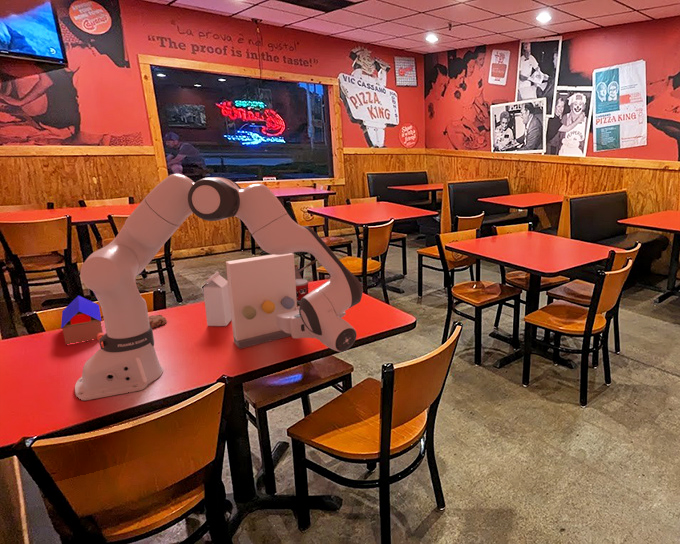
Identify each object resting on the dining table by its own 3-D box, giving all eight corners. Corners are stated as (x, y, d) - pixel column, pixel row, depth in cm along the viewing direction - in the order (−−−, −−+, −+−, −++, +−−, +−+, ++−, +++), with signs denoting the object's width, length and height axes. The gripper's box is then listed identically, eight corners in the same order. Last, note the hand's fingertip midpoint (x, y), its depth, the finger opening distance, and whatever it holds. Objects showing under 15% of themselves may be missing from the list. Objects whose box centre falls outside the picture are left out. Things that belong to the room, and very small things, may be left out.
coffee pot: (287, 300, 188) (285, 266, 184) (276, 293, 197) (274, 260, 193) (330, 290, 198) (329, 258, 194) (317, 284, 208) (316, 253, 204)
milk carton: (232, 319, 168) (227, 271, 163) (226, 326, 161) (220, 277, 156) (214, 319, 169) (209, 271, 164) (207, 326, 162) (201, 276, 157)
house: (64, 347, 148) (58, 314, 145) (65, 327, 165) (59, 298, 162) (104, 338, 154) (98, 307, 151) (101, 320, 171) (96, 292, 168)
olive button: (244, 320, 139) (243, 308, 138) (242, 318, 142) (241, 306, 141) (256, 318, 141) (255, 306, 140) (254, 315, 144) (253, 304, 142)
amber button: (264, 314, 144) (263, 303, 143) (261, 312, 146) (260, 301, 145) (275, 312, 146) (274, 300, 145) (272, 310, 148) (271, 298, 147)
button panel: (239, 348, 143) (231, 265, 135) (233, 342, 148) (225, 261, 140) (300, 333, 154) (296, 255, 146) (293, 327, 158) (289, 252, 151)
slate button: (283, 310, 147) (283, 299, 146) (280, 308, 149) (280, 297, 148) (294, 308, 149) (294, 296, 148) (291, 305, 151) (290, 294, 150)
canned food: (286, 310, 176) (285, 283, 173) (294, 303, 184) (293, 278, 181) (304, 311, 174) (303, 285, 171) (311, 304, 181) (310, 279, 178)
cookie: (131, 330, 161) (130, 322, 160) (148, 319, 171) (146, 312, 170) (156, 331, 159) (155, 323, 159) (171, 320, 170) (170, 313, 169)
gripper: (348, 304, 135) (326, 293, 146) (287, 319, 125) (268, 305, 136) (348, 324, 136) (327, 311, 148) (288, 340, 126) (270, 324, 138)
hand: (298, 308), depth 142 cm, fingers closed
